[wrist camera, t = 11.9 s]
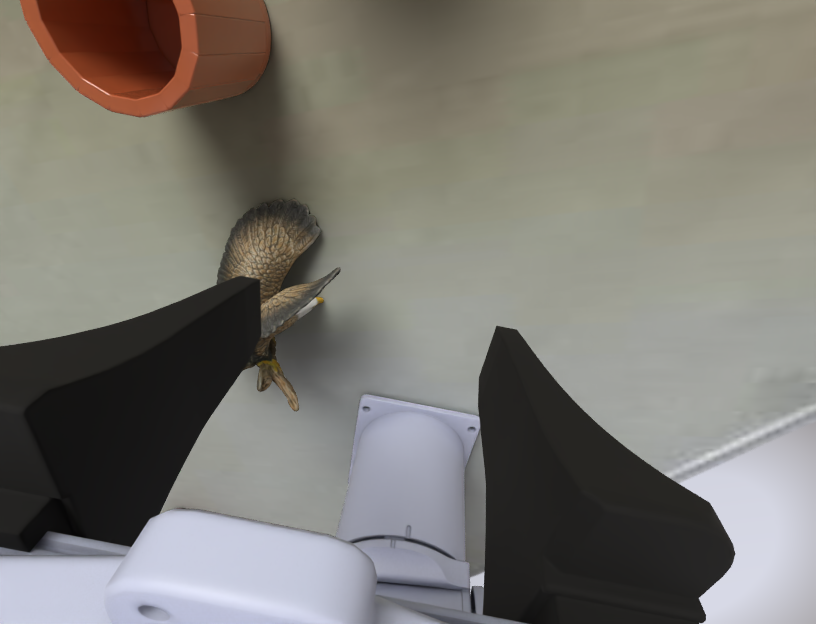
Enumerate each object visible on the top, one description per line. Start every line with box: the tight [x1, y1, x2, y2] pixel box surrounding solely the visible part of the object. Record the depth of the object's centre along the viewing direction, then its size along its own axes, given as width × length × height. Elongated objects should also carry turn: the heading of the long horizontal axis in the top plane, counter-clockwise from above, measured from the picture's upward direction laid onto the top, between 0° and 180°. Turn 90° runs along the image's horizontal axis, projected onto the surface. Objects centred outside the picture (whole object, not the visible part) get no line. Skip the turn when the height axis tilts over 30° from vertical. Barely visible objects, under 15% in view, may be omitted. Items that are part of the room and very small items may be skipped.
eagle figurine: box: [217, 199, 341, 411], centre depth 21 cm, size 8×7×9 cm
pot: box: [20, 0, 271, 117], centre depth 15 cm, size 5×5×6 cm
